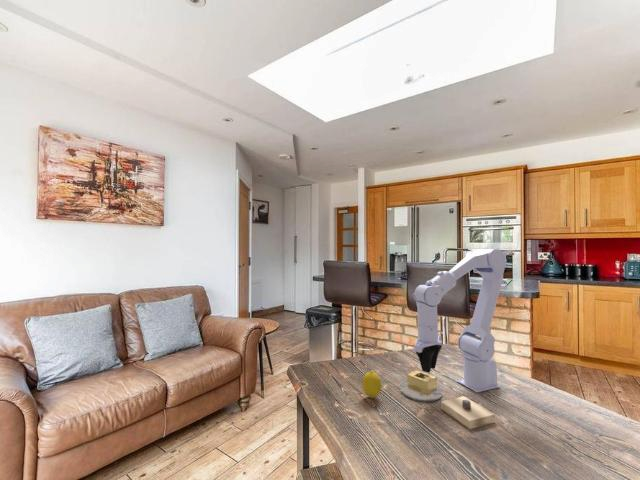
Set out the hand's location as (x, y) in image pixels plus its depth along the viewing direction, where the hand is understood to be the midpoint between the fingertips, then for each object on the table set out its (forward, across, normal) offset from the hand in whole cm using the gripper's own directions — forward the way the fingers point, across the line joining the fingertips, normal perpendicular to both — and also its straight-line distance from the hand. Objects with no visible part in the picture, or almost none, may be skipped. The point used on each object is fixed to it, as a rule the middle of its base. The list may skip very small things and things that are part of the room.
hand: (428, 369), depth 92 cm
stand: (+7, -4, -12) cm, 15 cm away
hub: (+7, 0, +3) cm, 8 cm away
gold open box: (+6, 0, +2) cm, 7 cm away
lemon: (+8, -13, +12) cm, 19 cm away
